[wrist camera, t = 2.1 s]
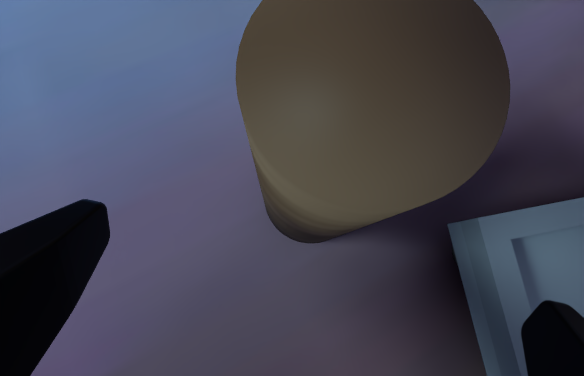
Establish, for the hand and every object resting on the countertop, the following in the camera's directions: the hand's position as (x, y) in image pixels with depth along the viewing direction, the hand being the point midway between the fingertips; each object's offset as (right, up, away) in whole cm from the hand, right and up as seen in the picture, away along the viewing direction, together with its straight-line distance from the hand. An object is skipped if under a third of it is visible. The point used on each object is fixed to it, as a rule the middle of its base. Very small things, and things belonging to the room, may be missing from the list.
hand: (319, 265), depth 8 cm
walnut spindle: (0, +1, +11) cm, 11 cm away
